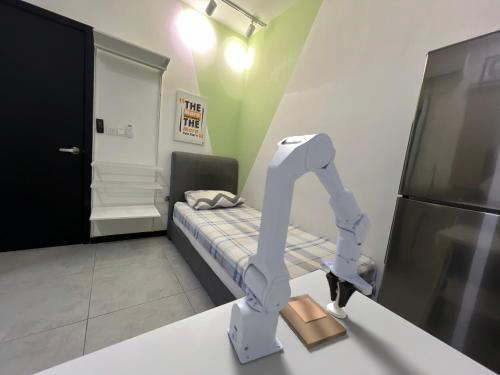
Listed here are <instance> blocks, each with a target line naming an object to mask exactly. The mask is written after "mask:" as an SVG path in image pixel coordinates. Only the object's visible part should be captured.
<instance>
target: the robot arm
mask: <svg viewBox="0 0 500 375" xmlns="http://www.w3.org/2000/svg"><path fill="white" fill-rule="evenodd" d="M333 143H334V142H333V141H332V139H331V137H330V136H329V135H328V134H327V133H325V132H318V133H316V134H307V135H306V134H305V135H297V136H296V135H295V136H293V135H291V136H287V137H286V138H284V139H282V140H281V141H279V142H278V143H276V144H277V145H276V152H275V154H274V156H273V157H272V159H271V161H270V162H269V164H268V165H267V169H266V170H267V171H266V177H265V178H266V179H265V185H264V186H265V187H264V194H263V200H262V209H261V217H260V223H259V232H258V239H257V248H256V252H253V253H252V254H250V255H249V256H248V260H247V264H246V266H245V268H244V270H243V272H242V281H243V284H244V285H246V288H245V296H244V297H243V298H242V299H240V300H239V301H237V302H234V303H233V304H232V307H231V311H230V312H231V314H230V319H229V320H230V321H229V328H227V333H228V336H229V338H230V340H231V342H232V346H233V347H234V351H235V353H236V354H237V357H238V359H239V360H238V361H239V362H240V363H241V364H246V363H249V362H252V361H254V360H257V359H260V358H263V357H266V356H268V355H271V354H274V353H278V352H280V351H282V350H284V345H283V344H282V342H281V341H280V340H279V338H278V336H277V328H278V322H279V316H280V314H279V311H280V310H282V309H283V308H284V307H285V306H286V305H287V303H288V301H289V299H290V298H291V295H292V287H291V284H290V278H291V274H290V271H289V269H288V267H287V264H286V261H285V253H286V252H285V251H286V244H287V238H288V232H289V224H290V218H291V217H290V216H291V210H292V204H293V198H294V197H293V195H294V189H295V183H296V181H297V180H299V179H300V178H301V177H303V175H305V174H307V173H310V172H313V173H314V174H315V175H316V177H317V178H318V180H319V181H320V183H321V184H322V186H323V187H324V188H325V190H326V192H327V193H328V194H329V195H328V198H327V201H328V202H327V203H328V204H329V206H330V207H331V209H332V211H333V213H334V217H335V222H334V223H335V226H336V227H337V228H338V234H337V235H338V236H337V239H336V240H337V241H336V246H335V250H334V251H335V252H334V257H333V261H331V260H329V259H328V258H326V257H325V258H321V259H320V263H319V266H321V267H325V268H326V269H328V270H329V272H327V273H325V278H326V280H327V283H328V287H329V295H330V301H331V303H334V302H335V300H336V297H337V294H338V293H336V290H337V289H338V285H337V282H339V301H338V306H339V307H340V308H342V307H343V308H345V307H347V304H348V303H349V300H350V299H351V298H352V296H353V295H354V294H355V292H356V291H358V290H360V291H361V293H362V294H363V295H365V296H370V295H372V291H373V286H372V285H371V284H370V283H368V282H367V281H366V280H365V279H363V278H362V277H361V276H360V275H359V274H357V272H358V265H359V262H360V261H359V259H360V255H361V250H362V244H363V243H365V241H366V239H367V238H366V237H367V234H368V233H369V232H370V229H371V226H372V224H371V219H370V217H369V216H368V214H366V213H363V212H362V210H361V208H360V206H359V204H358V202H357V200H356V198H355V196H354V193H353V191H352V190H350V189H348V188H345V186H344V185H343V182H342V180H341V177H340V175H339V172H338V170H337V167H336V164H335V158H336V152H337V150H336V149H335V147H334V144H333ZM339 278H342V279H344V280H345V282H344V281H343V282H341V280H339Z"/></svg>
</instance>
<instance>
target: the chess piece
mask: <svg viewBox="0 0 500 375" xmlns="http://www.w3.org/2000/svg"><path fill="white" fill-rule="evenodd" d="M339 280H341V282H343V281H344V282H345V280H344V279H342V278H339ZM337 285H338V289H337V290H336V293H338V294H337V297H336V300H335V301H334V302H329V303H328V304H327V306H326V311H327V312H328V313H329V314H330V315H331V316H332V317H335V318H338V319H345V318H346V317H347V311H346V309H345V307H342V308H340V307H339V306H338V301H339V282H337Z"/></svg>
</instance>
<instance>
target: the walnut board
mask: <svg viewBox="0 0 500 375" xmlns="http://www.w3.org/2000/svg"><path fill="white" fill-rule="evenodd" d="M279 316H280V317H282V319H283V321H285V323H286V324H287V325H288V326H289V328H290V329H291V330H292V331H293V333H295V335H296V336H297V337H298V340H300V341H301V342H302V344H303V345H304V347H305V348H306V349H311V348H313V347H315V346H318V345H321V344H324V343H325V342H329V341H331V340H333V339H336V338H339V337H341V336H345V335H346V334H348V333H347V332H348V329H347V328H346V327H345V326H344V325H342V323H340V322H339V321H338V320H337V319H335V318H336V317H335V318H334V316H333V315H332V314H330V313H329V312H328V310H327V309H325V308H323V306H322V305H320V304H319V303H318V302H317V301H316V300H315V299H314V298H312V297H311V296H310V295H309V294H308V293H306V294H305V293H304V294H301V295H296V296H292V297H291V296H290V299H289V301H288V303H287V305H286V306H285V307H284V308H283V309H282V310H280V311H279Z"/></svg>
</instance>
